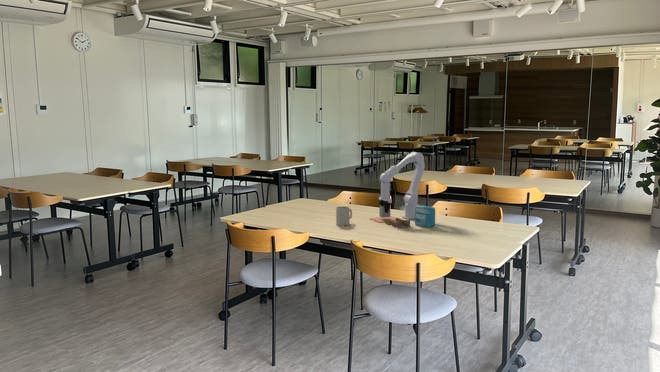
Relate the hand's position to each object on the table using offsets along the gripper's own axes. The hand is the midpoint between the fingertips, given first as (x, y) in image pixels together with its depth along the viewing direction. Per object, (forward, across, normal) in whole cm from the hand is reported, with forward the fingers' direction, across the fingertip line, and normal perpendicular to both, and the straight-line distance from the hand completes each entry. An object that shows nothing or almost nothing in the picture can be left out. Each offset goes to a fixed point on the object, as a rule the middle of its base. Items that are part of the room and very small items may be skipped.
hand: (385, 212), depth 342 cm
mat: (+5, 0, 0) cm, 5 cm away
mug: (+6, 0, -29) cm, 30 cm away
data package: (+6, +26, +14) cm, 30 cm away
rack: (+5, +15, 0) cm, 16 cm away
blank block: (+3, 0, 0) cm, 3 cm away
